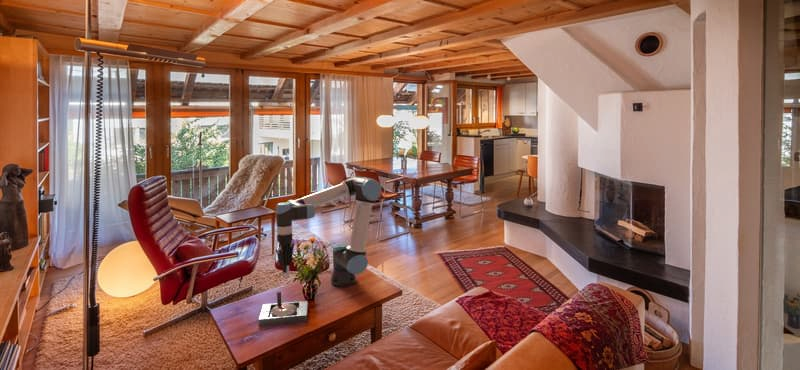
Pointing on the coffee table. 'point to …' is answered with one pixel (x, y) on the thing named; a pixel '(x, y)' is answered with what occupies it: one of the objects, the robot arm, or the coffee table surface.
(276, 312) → the dial
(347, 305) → the coffee table surface
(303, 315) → the dial housing
